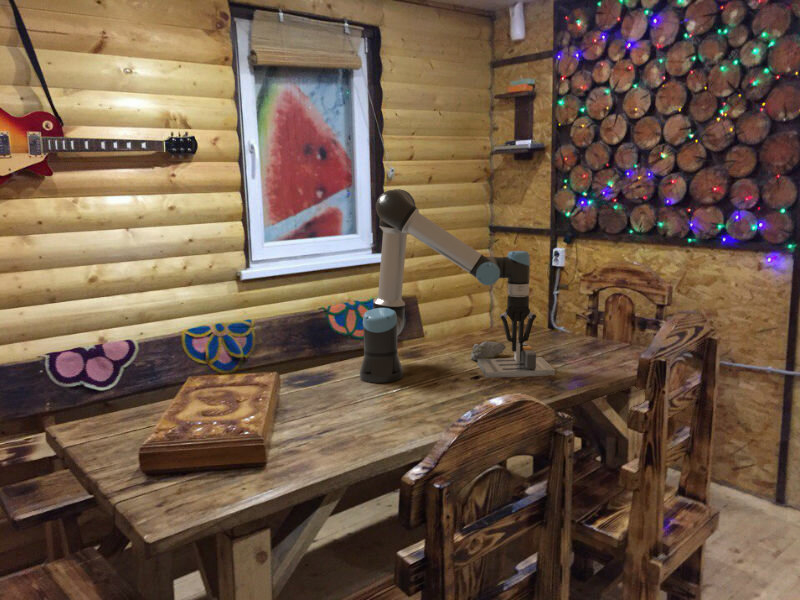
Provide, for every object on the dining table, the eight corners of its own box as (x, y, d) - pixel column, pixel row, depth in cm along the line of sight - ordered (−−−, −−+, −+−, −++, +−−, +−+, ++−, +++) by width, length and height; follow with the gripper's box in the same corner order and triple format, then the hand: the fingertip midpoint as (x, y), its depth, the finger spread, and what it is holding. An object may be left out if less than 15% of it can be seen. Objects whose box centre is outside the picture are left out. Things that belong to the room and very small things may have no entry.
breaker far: (519, 360, 237) (519, 345, 236) (517, 357, 240) (517, 342, 239) (527, 360, 237) (527, 344, 236) (525, 357, 240) (525, 342, 239)
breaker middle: (524, 364, 231) (524, 348, 230) (521, 361, 235) (521, 346, 234) (532, 364, 232) (532, 348, 231) (529, 361, 235) (529, 346, 234)
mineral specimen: (495, 353, 257) (495, 336, 256) (507, 357, 251) (507, 340, 250) (463, 359, 249) (463, 342, 248) (475, 363, 243) (475, 346, 242)
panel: (486, 378, 224) (486, 372, 224) (477, 364, 241) (477, 359, 241) (555, 375, 226) (555, 369, 225) (541, 362, 242) (541, 356, 242)
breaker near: (527, 369, 226) (527, 352, 225) (524, 366, 230) (524, 350, 228) (535, 368, 226) (536, 352, 225) (533, 365, 230) (533, 349, 229)
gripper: (502, 297, 225) (501, 363, 229) (539, 296, 225) (537, 362, 229) (497, 293, 232) (497, 358, 236) (533, 292, 233) (531, 356, 237)
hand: (517, 360), depth 233 cm, fingers closed
